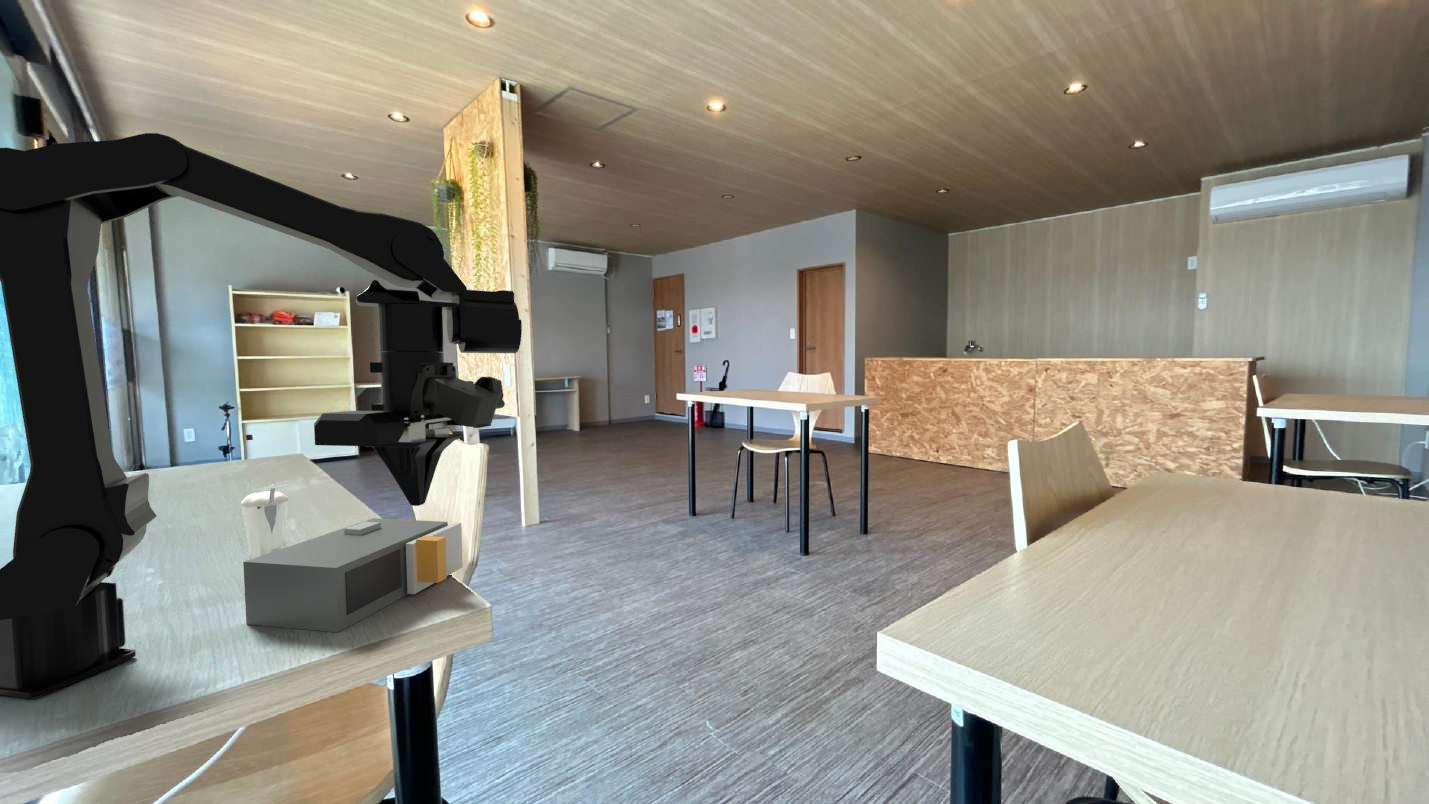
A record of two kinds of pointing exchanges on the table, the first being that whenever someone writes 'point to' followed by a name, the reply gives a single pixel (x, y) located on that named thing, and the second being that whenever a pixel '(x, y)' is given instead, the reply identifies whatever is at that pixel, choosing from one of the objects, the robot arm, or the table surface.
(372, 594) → the block
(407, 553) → the side door
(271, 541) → the milkshake
